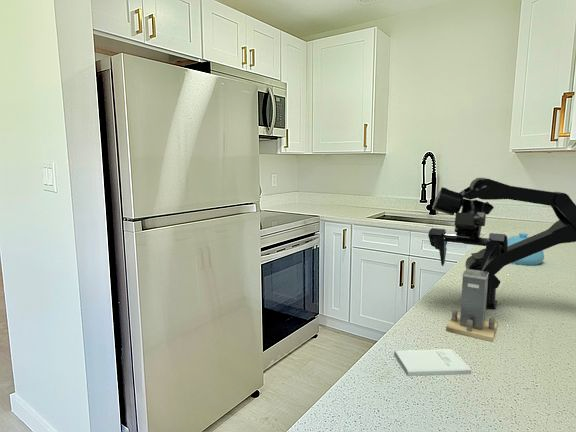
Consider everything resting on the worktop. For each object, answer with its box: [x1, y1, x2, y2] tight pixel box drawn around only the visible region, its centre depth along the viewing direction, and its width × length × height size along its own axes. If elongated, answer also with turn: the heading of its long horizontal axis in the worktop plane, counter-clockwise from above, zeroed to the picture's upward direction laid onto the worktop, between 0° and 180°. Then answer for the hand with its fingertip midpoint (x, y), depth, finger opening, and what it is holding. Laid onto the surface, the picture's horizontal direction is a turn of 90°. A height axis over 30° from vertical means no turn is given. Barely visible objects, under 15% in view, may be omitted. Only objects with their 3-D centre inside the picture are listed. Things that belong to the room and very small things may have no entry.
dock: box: [445, 309, 499, 342], centre depth 91 cm, size 10×10×4 cm
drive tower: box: [460, 268, 489, 330], centre depth 90 cm, size 5×5×13 cm
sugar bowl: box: [508, 232, 545, 266], centre depth 150 cm, size 15×15×12 cm
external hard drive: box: [393, 348, 472, 377], centre depth 76 cm, size 2×8×12 cm
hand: (461, 267), depth 95 cm, fingers open, 9 cm apart
